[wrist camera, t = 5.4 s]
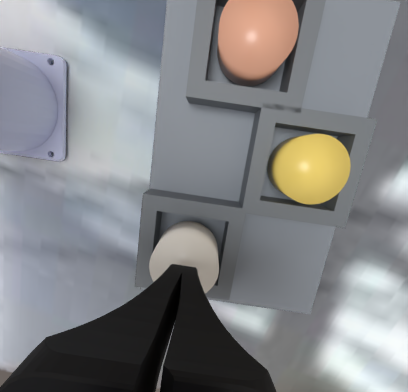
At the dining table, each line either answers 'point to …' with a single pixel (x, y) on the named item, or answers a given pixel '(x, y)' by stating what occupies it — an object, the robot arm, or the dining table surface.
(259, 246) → the panel
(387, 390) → the dining table surface
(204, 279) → the button cream
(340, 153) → the button mustard
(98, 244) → the dining table surface
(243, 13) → the button terracotta
